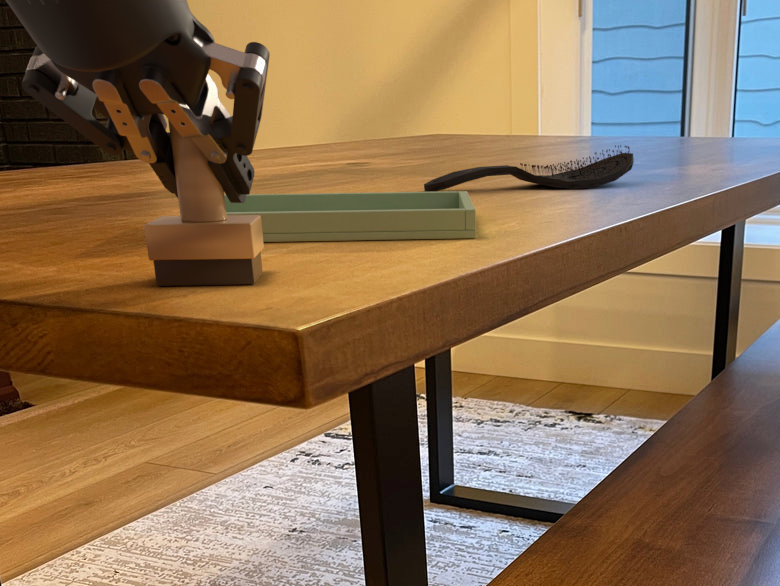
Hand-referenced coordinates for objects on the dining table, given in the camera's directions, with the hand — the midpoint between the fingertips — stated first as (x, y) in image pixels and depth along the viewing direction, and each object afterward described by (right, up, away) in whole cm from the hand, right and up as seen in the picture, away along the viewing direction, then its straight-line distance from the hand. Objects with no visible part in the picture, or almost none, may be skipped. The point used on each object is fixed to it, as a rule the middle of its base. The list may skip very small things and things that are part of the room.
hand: (216, 190), depth 60 cm
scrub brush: (0, -5, 0) cm, 5 cm away
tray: (+4, +4, +21) cm, 21 cm away
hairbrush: (+20, +16, +51) cm, 57 cm away
